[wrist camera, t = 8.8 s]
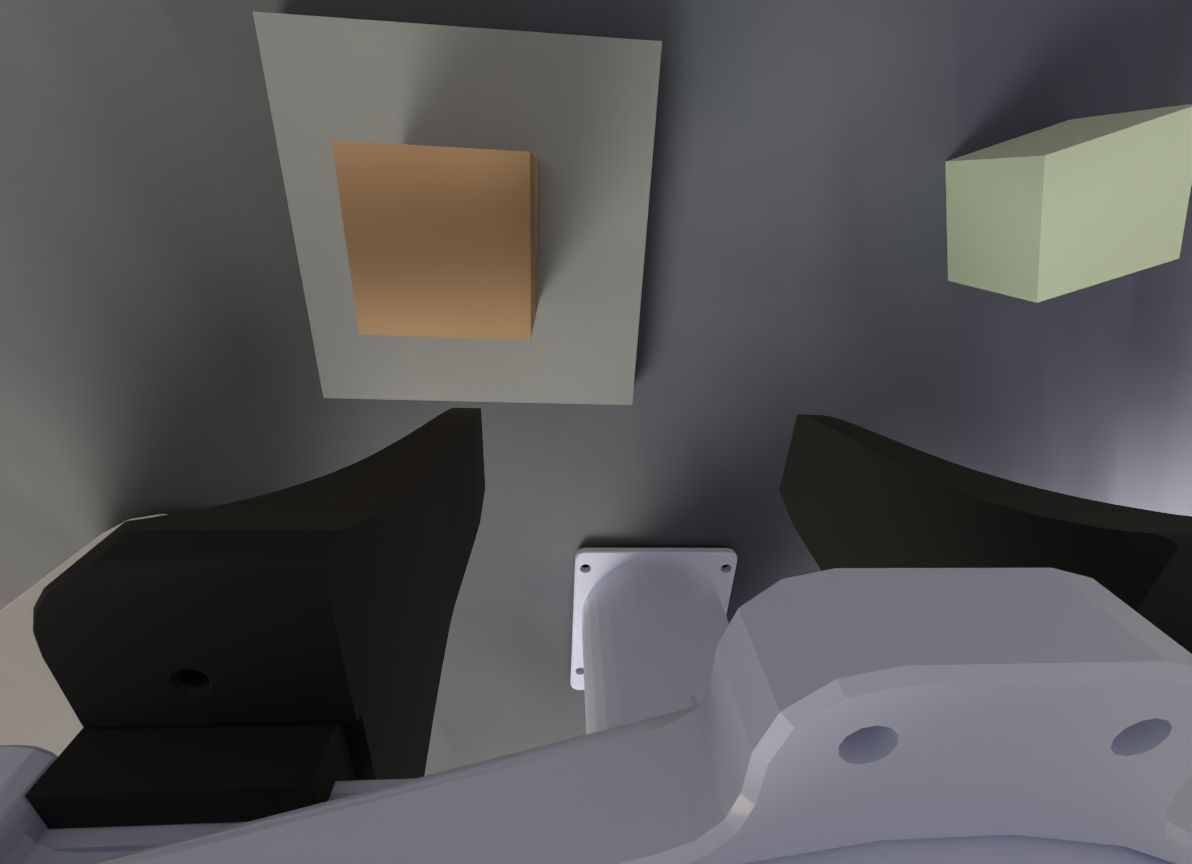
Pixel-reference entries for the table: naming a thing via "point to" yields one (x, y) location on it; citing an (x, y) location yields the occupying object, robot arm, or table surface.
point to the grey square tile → (482, 121)
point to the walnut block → (441, 239)
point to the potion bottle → (34, 674)
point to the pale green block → (1070, 203)
